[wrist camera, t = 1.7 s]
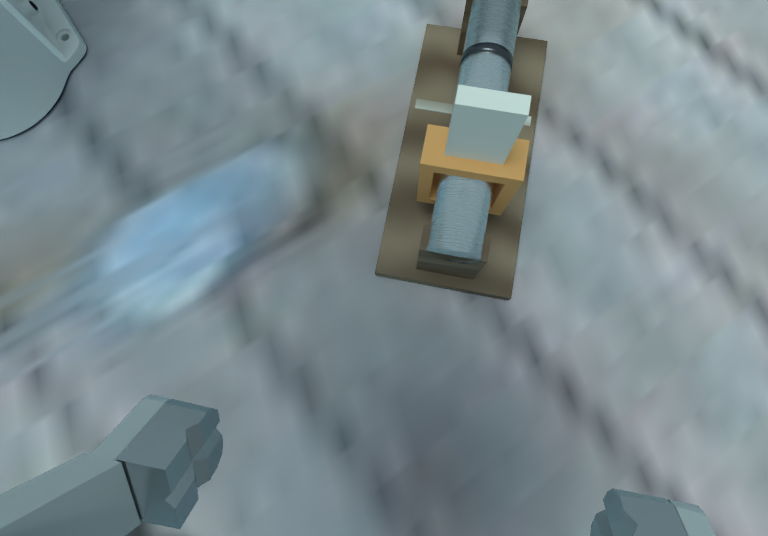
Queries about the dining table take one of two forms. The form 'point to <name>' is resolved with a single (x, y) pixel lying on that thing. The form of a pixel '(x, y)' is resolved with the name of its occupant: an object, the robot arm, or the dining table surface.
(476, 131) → the orange pipe clamp
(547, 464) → the dining table surface
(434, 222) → the pipe
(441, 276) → the pipe stand
